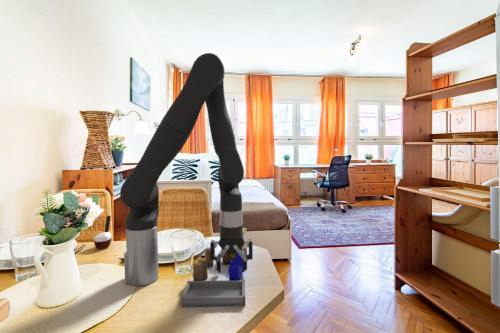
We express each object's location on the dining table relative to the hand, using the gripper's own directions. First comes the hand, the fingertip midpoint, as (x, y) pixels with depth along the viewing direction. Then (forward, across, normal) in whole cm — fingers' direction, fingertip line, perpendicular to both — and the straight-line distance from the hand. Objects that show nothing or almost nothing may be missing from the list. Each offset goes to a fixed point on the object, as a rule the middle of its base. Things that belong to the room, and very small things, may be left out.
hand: (231, 271), depth 90 cm
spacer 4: (+1, -2, +8) cm, 9 cm away
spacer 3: (+1, -8, +7) cm, 11 cm away
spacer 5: (+1, +4, +8) cm, 9 cm away
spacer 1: (+1, -10, -5) cm, 12 cm away
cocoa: (+1, -54, +25) cm, 60 cm away
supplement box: (+1, +2, +14) cm, 14 cm away
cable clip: (+2, +1, 0) cm, 2 cm away
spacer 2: (+1, -9, -2) cm, 10 cm away
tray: (+1, -4, -13) cm, 14 cm away
